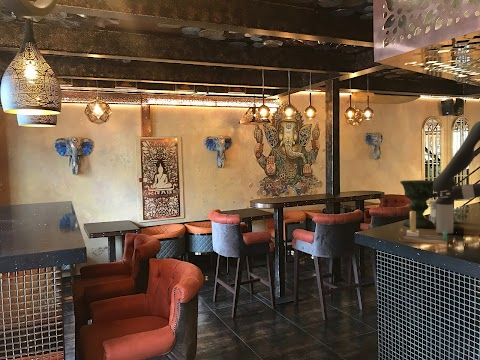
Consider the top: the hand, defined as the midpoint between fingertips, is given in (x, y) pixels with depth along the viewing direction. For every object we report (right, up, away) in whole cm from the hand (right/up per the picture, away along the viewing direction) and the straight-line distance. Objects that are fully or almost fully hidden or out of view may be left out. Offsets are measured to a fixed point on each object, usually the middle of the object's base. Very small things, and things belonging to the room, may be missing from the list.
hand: (429, 195), depth 216 cm
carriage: (-9, -22, +2) cm, 23 cm away
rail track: (-4, -25, 0) cm, 25 cm away
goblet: (+15, -22, +47) cm, 54 cm away
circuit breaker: (+38, -21, +61) cm, 75 cm away
